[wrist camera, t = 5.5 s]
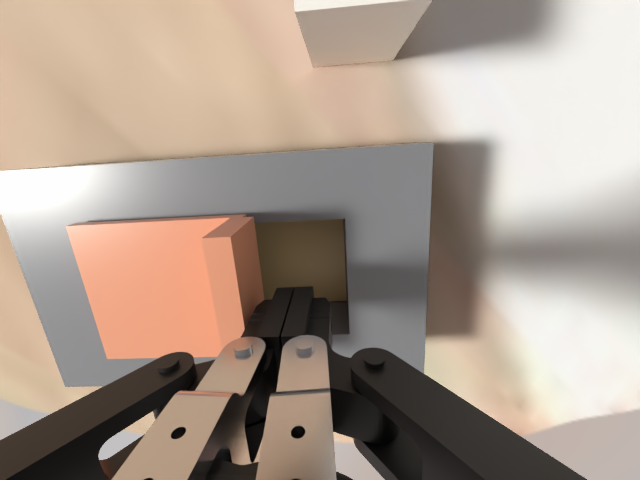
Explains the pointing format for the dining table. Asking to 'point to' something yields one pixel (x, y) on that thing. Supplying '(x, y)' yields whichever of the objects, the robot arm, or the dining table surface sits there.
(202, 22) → the dining table surface
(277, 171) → the socket block
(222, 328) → the shutter
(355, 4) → the plug
